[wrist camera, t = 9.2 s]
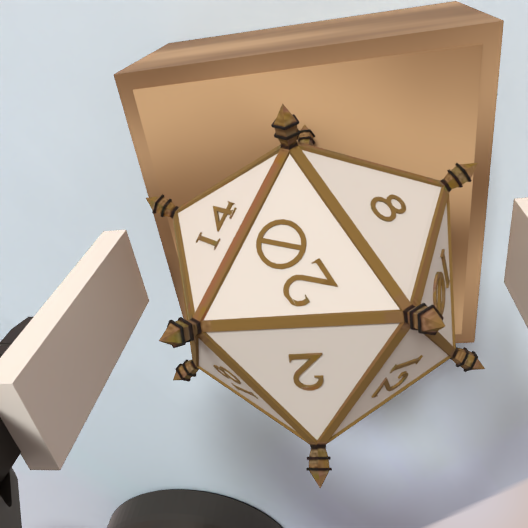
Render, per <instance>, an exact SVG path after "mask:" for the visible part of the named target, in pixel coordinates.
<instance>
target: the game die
mask: <svg viewBox="0 0 528 528" xmlns="http://www.w3.org/2000/svg"><path fill="white" fill-rule="evenodd" d="M297 124H299V120H298V119H297V117H296V116H295V114H293V115H292V114H291V113H290V112H289V110H288V109H287V108H286V107H285V106H284V104H283V103H282V106H281V108H280V110H279V113H278V115H277V118H276V119H275V120H274V122H273V123H272V124H271V126H272V127H273V128H275V132H276V133H275V134H274V137H275V138H278V140H279V141H280V143H281V144H280V145H279V146H277V147H275V148H274V149H272V150H271V151H269V152H267V153H266V154H264V155H263V156H261V157H259V158H258V159H256V160H254V161H253V162H251V163H250V164H248V165H246V166H245V167H243V168H241V169H240V170H238V171H237V172H235V173H233V174H232V175H230V176H229V177H227V178H225V179H224V180H222V181H220V182H219V183H217V184H216V185H214V186H212V187H211V188H209V189H207V190H206V191H204V192H203V193H201V194H199V195H198V196H196V197H194V198H193V199H191V200H190V201H188V202H186V203H185V204H183V205H182V206H180V207H178V206H175V205H174V204H173V203H172V199H169V200H168V199H166V198H164V195H163V194H162V195H161V196H158V197H150V198H146V199H147V201H148V203H149V204H150V206H151V208H152V210H153V213H154V214H155V213H158V214H160V215H161V217H165V216H168V217H171V218H172V219H173V225H174V232H175V239H176V246H177V253H178V260H179V267H180V274H181V281H182V288H183V296H184V303H185V310H186V317H187V320H185V319H183V318H182V317H180V318H179V319H178V321H175V322H174V321H173V320H169V323H168V326H167V329H166V331H165V332H164V334H163V335H162V337H161V338H160V340H159V341H161V342H164V343H167V344H170V345H172V346H173V348H175V347H179V346H182V345H185V343H186V342H190V345H191V352H192V360H189V361H188V360H186V361H185V362H184V363H183V364H179V365H178V367H177V368H176V373H175V376H174V379H173V380H185V381H190V378H191V377H192V376H194V377H195V376H196V372H197V371H198V369H200V370H202V371H203V372H205V373H206V374H208V375H209V376H210V377H212V378H213V379H215V380H216V381H218V382H219V383H221V384H222V385H224V386H225V387H227V388H228V389H229V390H231V391H232V392H234V393H235V394H237V395H238V396H240V397H241V398H243V399H244V400H246V401H247V402H248V403H250V404H251V405H253V406H254V407H256V408H257V409H259V410H260V411H262V412H263V413H265V414H266V415H267V416H269V417H270V418H272V419H273V420H275V421H276V422H278V423H279V424H281V425H282V426H284V427H285V428H286V429H288V430H289V431H291V432H292V433H294V434H295V435H297V436H298V437H300V438H301V439H303V440H304V441H306V442H307V443H308V444H310V446H311V452H310V456H309V457H307V460H309V468H307V470H309V471H310V473H311V474H312V476H313V477H314V479H315V481H316V482H317V484H318V485H319V487H320V488H321V486H322V484H323V482H324V480H325V478H326V476H327V474H328V472H329V470H332V469H331V468H329V460H328V459H330V457H328V455H327V452H326V449H325V448H326V444H327V443H329V442H330V441H332V440H333V439H334V438H336V437H337V436H339V435H340V434H342V433H343V432H345V431H346V430H347V429H349V428H350V427H352V426H353V425H355V424H356V423H357V422H359V421H360V420H362V419H363V418H365V417H366V416H368V415H369V414H370V413H372V412H373V411H375V410H376V409H378V408H379V407H381V406H382V405H383V404H385V403H386V402H388V401H389V400H391V399H392V398H394V397H395V396H396V395H398V394H399V393H401V392H402V391H404V390H405V389H406V388H408V387H409V386H411V385H412V384H414V383H415V382H417V381H418V380H419V379H421V378H422V377H424V376H425V375H427V374H428V373H430V372H431V371H432V370H434V369H435V368H437V367H438V366H440V365H441V364H443V363H444V362H445V361H447V360H448V359H452V360H453V361H454V362H455V363H456V366H457V367H459V366H460V367H462V368H464V371H465V372H466V371H469V370H475V369H485V368H484V367H483V366H482V364H481V363H480V361H479V360H478V356H477V354H476V353H475V352H474V351H472V352H469V351H468V350H467V348H465V347H464V348H463V349H460V348H456V344H455V320H454V296H453V272H452V248H451V224H450V200H449V192H450V191H451V190H452V189H454V188H457V187H459V188H461V187H463V186H462V185H463V184H464V183H466V182H471V181H472V180H471V177H472V175H473V173H474V171H475V169H476V166H477V164H478V163H469V164H458V163H456V164H455V165H456V167H454V168H453V169H452V170H450V169H449V170H447V172H448V173H447V175H446V176H445V177H444V179H442V180H436V179H433V178H429V177H425V176H422V175H418V174H414V173H411V172H407V171H403V170H400V169H396V168H392V167H389V166H385V165H381V164H378V163H374V162H371V161H367V160H363V159H360V158H356V157H352V156H349V155H345V154H341V153H338V152H334V151H330V150H327V149H323V148H319V147H316V146H313V145H314V144H315V141H314V140H313V138H314V137H315V135H314V133H313V132H312V131H311V129H308V128H307V126H306V125H304V126H303V127H302V129H301V130H300V131H299V129H298V128H297ZM297 140H298V142H297Z"/></svg>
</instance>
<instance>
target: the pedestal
mask: <svg viewBox="0 0 528 528" xmlns="http://www.w3.org/2000/svg"><path fill="white" fill-rule="evenodd" d="M503 22H504V21H503V20H501V19H498V18H496V17H493V16H491V15H489V14H486V13H484V12H481V11H479V10H476V9H474V8H472V7H469V6H467V5H464V4H462V3H459V2H457V1H454V2H447V3H440V4H433V5H427V6H420V7H413V8H406V9H399V10H393V11H386V12H379V13H372V14H365V15H359V16H352V17H345V18H338V19H331V20H325V21H318V22H311V23H304V24H297V25H290V26H284V27H277V28H270V29H263V30H256V31H250V32H243V33H236V34H229V35H222V36H216V37H209V38H202V39H195V40H188V41H182V42H175V43H169V44H167V45H165V46H163V47H161V48H160V49H158V50H156V51H154V52H153V53H151V54H149V55H147V56H146V57H144V58H142V59H140V60H138V61H137V62H135V63H133V64H131V65H130V66H128V67H126V68H124V69H123V70H121V71H119V72H117V73H116V74H114V78H115V81H116V85H117V88H118V92H119V95H120V99H121V102H122V106H123V109H124V113H125V116H126V120H127V123H128V127H129V130H130V134H131V137H132V141H133V144H134V147H135V151H136V154H137V158H138V161H139V165H140V168H141V172H142V175H143V179H144V182H145V186H146V189H147V193H148V196H149V198H150V197H158V196H161V195H162V194H163V195H164V198H166V199H168V200H169V199H172V203H173V204H174V205H175V206H178V207H180V206H182V205H183V204H185V203H186V202H188V201H190V200H191V199H193V198H194V197H196V196H198V195H199V194H201V193H203V192H204V191H206V190H207V189H209V188H211V187H212V186H214V185H216V184H217V183H219V182H220V181H222V180H224V179H225V178H227V177H229V176H230V175H232V174H233V173H235V172H237V171H238V170H240V169H241V168H243V167H245V166H246V165H248V164H250V163H251V162H253V161H254V160H256V159H258V158H259V157H261V156H263V155H264V154H266V153H267V152H269V151H271V150H272V149H274V148H275V147H277V146H279V145H280V144H281V143H280V141H279V140H278V138H275V137H274V134H275V133H276V132H275V128H273V127H272V126H271V124H272V123H273V122H274V120H275V119H276V118H277V115H278V113H279V110H280V108H281V106H282V103H283V104H284V106H285V107H286V108H287V109H288V110H289V112H290V113H291V114H292V115H293V114H295V116H296V117H297V119H298V120H299V124H297V128H298V129H299V131H300V130H301V129H302V127H303V126H304V125H306V126H307V128H308V129H311V131H312V132H313V133H314V135H315V137H314V138H313V140H314V141H315V144H314V145H313V146H316V147H319V148H323V149H327V150H330V151H334V152H338V153H341V154H345V155H349V156H352V157H356V158H360V159H363V160H367V161H371V162H374V163H378V164H381V165H385V166H389V167H392V168H396V169H400V170H403V171H407V172H411V173H414V174H418V175H422V176H425V177H429V178H433V179H436V180H442V179H444V177H445V176H446V175H447V173H448V172H447V170H449V169H450V170H452V169H453V168H454V167H456V165H455V164H456V163H458V164H469V163H478V164H477V166H476V169H475V171H474V173H473V175H472V177H471V180H472V181H471V182H466V183H464V184H463V185H462V186H463V187H461V188H459V187H457V188H454V189H452V190H451V191H450V192H449V200H450V224H451V248H452V272H453V296H454V320H455V343H469V342H474V339H475V328H476V317H477V306H478V296H479V285H480V274H481V263H482V252H483V241H484V230H485V219H486V208H487V197H488V186H489V175H490V164H491V154H492V143H493V132H494V121H495V110H496V99H497V88H498V77H499V66H500V55H501V44H502V33H503ZM297 142H298V140H297ZM153 214H154V213H153ZM154 217H155V221H156V224H157V228H158V231H159V235H160V238H161V242H162V245H163V249H164V252H165V256H166V259H167V263H168V266H169V270H170V273H171V277H172V280H173V284H174V287H175V291H176V294H177V297H178V301H179V304H180V308H181V311H182V315H183V318H184V319H185V320H187V317H186V310H185V303H184V296H183V288H182V281H181V274H180V267H179V260H178V253H177V246H176V239H175V232H174V225H173V219H172V218H171V217H168V216H165V217H161V215H160V214H158V213H155V214H154Z"/></svg>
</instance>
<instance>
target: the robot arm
mask: <svg viewBox="0 0 528 528" xmlns="http://www.w3.org/2000/svg"><path fill="white" fill-rule="evenodd" d="M504 283H505V285H506V287H507V289H508V291H509V293H510V295H511V297H512V299H513V300H514V302H515V304H516V306H517V308H518V310H519V312H520V314H521V316H522V318H523V320H524V322H525V324H526V326H527V328H528V198H517V199H514V203H513V211H512V220H511V228H510V236H509V244H508V253H507V261H506V269H505V277H504ZM148 302H149V299H148V296H147V293H146V290H145V287H144V283H143V280H142V277H141V274H140V271H139V268H138V265H137V262H136V259H135V256H134V253H133V249H132V246H131V243H130V240H129V237H128V234H127V231H126V230H115V231H103V233H102V234H101V235H100V236H99V238H98V239H97V240H96V241H95V242H94V244H93V245H92V246H91V247H90V249H89V250H88V251H87V252H86V253H85V255H84V256H83V257H82V258H81V260H80V261H79V262H78V263H77V265H76V266H75V267H74V268H73V269H72V271H71V272H70V273H69V274H68V276H67V277H66V278H65V279H64V280H63V282H62V283H61V284H60V285H59V287H58V288H57V289H56V290H55V291H54V293H53V294H52V295H51V296H50V298H49V299H48V300H47V301H46V302H45V304H44V305H43V306H42V307H41V309H40V310H39V311H38V312H37V314H36V315H35V316H34V317H28V318H26V319H25V320H23V321H22V322H21V323H19V324H18V325H17V326H15V327H14V328H12V329H11V330H10V331H9V333H8V334H7V335H6V336H5V337H4V339H3V340H2V341H1V342H0V528H22V525H21V513H20V502H19V490H18V479H17V477H16V474H15V472H14V470H13V469H12V466H13V464H14V462H15V461H16V459H17V458H18V456H19V454H21V455H22V457H23V459H24V460H25V462H26V464H27V465H28V467H29V469H30V470H61V468H62V466H63V464H64V462H65V460H66V458H67V456H68V454H69V452H70V450H71V449H72V447H73V445H74V443H75V441H76V439H77V437H78V435H79V433H80V431H81V429H82V428H83V426H84V424H85V422H86V420H87V418H88V416H89V414H90V412H91V410H92V409H93V407H94V405H95V403H96V401H97V399H98V397H99V395H100V393H101V391H102V389H103V388H104V386H105V384H106V382H107V380H108V378H109V376H110V374H111V372H112V370H113V368H114V367H115V365H116V363H117V361H118V359H119V357H120V355H121V353H122V351H123V349H124V348H125V346H126V344H127V342H128V340H129V338H130V336H131V334H132V332H133V330H134V328H135V327H136V325H137V323H138V321H139V319H140V317H141V315H142V313H143V311H144V309H145V307H146V306H147V304H148ZM107 528H282V527H280V526H279V525H278V524H277V523H276V522H275V521H274V520H272V519H271V518H270V517H268V516H267V515H265V514H264V513H262V512H260V511H258V510H257V509H255V508H253V507H251V506H249V505H246V504H244V503H242V502H239V501H237V500H234V499H231V498H228V497H224V496H221V495H217V494H212V493H207V492H201V491H193V490H162V491H155V492H150V493H145V494H142V495H139V496H136V497H134V498H132V499H130V500H128V501H126V502H124V503H123V504H122V505H120V506H119V507H118V508H117V509H116V510H115V512H114V513H113V515H112V517H111V519H110V521H109V524H108V526H107Z"/></svg>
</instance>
